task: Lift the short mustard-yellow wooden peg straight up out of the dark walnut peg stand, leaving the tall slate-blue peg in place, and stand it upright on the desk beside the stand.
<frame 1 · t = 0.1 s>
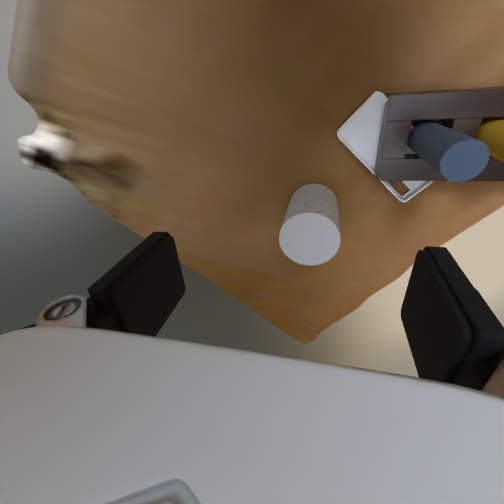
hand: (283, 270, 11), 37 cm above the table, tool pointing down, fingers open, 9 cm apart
cup: (313, 206, 48), on the table
stand: (452, 134, 38), on the table
mustard peg: (485, 133, 37), resting in stand
blue peg: (420, 135, 39), resting in stand
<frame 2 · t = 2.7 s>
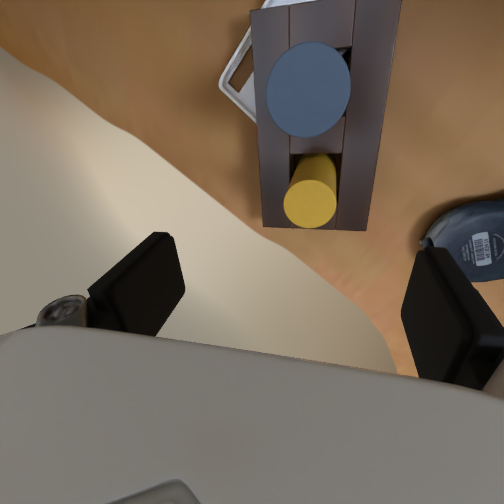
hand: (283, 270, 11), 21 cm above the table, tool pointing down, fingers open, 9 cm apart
stand: (317, 130, 27), on the table
mustard peg: (316, 169, 29), resting in stand
blue peg: (319, 84, 25), resting in stand
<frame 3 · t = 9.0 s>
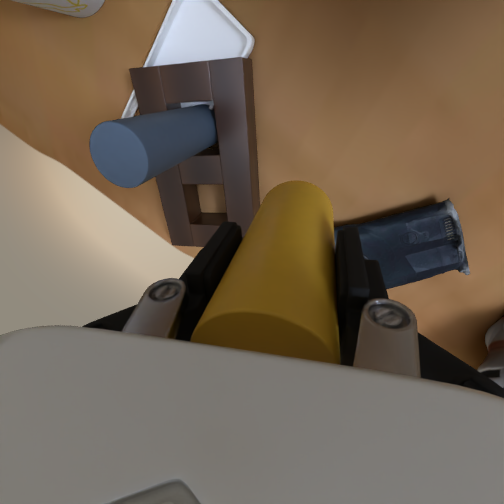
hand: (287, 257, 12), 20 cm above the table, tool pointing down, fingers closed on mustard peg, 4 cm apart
stand: (211, 162, 32), on the table
mustard peg: (295, 215, 16), point 16 cm above the table, touching gripper
electronic device: (377, 246, 32), on the table
blue peg: (206, 125, 30), resting in stand
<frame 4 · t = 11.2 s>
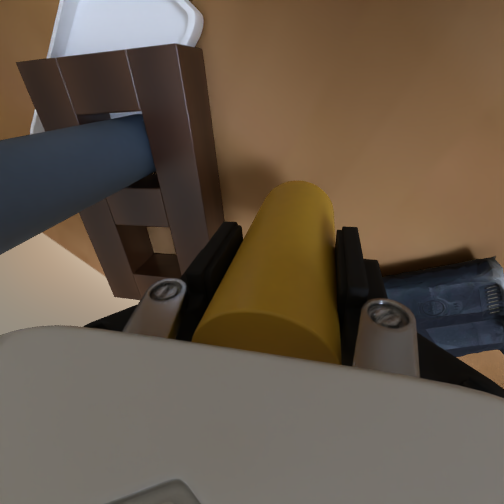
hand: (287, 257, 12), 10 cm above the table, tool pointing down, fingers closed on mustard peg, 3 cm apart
stand: (160, 191, 23), on the table
mustard peg: (296, 215, 16), point 5 cm above the table, touching gripper
electronic device: (385, 306, 24), on the table
blue peg: (148, 142, 21), resting in stand
when the fingers open (4 cm above the table, at t = 12.9 s): mustard peg stays where it is, on the table.
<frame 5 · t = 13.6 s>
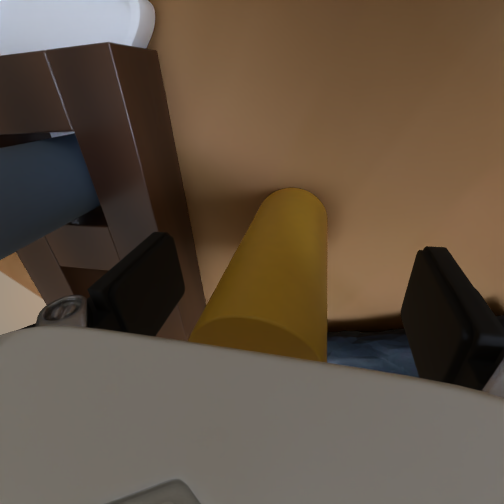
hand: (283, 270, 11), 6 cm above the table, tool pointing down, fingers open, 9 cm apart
stand: (119, 222, 19), on the table
mustard peg: (291, 221, 16), on the table
electronic device: (391, 358, 20), on the table
blue peg: (100, 165, 17), resting in stand
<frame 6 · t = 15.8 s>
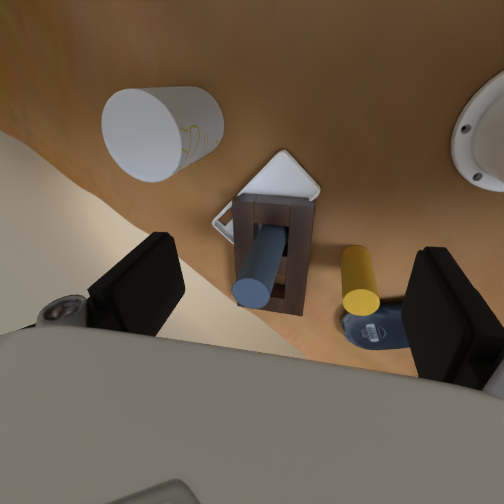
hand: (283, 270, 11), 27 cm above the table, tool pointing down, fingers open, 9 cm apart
cup: (194, 122, 36), on the table
stand: (274, 251, 43), on the table
mustard peg: (355, 257, 40), on the table
electronic device: (390, 317, 44), on the table
blue peg: (275, 229, 41), resting in stand
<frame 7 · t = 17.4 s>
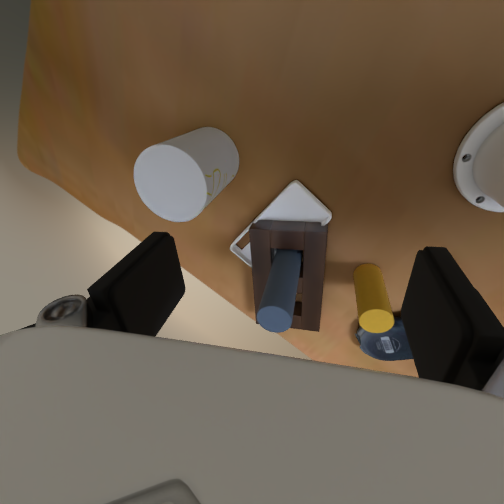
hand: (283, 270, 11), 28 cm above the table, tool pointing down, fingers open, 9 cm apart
cup: (211, 158, 39), on the table
stand: (289, 271, 45), on the table
mustard peg: (367, 274, 42), on the table
electronic device: (403, 329, 46), on the table
blue peg: (289, 251, 43), resting in stand
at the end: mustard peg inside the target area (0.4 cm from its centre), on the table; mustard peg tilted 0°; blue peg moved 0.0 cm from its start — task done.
